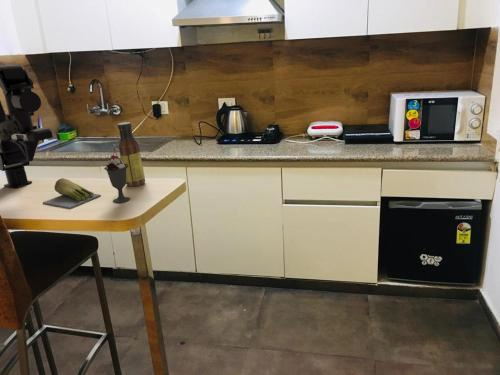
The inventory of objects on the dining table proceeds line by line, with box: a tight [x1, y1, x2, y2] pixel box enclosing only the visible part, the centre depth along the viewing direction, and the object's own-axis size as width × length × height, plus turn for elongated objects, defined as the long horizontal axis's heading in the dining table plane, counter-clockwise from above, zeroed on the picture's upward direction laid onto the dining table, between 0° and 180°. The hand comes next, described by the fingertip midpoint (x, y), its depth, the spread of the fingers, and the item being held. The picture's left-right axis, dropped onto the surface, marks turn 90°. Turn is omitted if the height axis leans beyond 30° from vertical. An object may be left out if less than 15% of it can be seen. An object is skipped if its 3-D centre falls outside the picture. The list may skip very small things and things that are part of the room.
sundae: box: [103, 147, 131, 204], centre depth 121 cm, size 7×7×15 cm
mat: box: [42, 193, 102, 210], centre depth 126 cm, size 12×11×1 cm
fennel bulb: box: [54, 178, 95, 201], centre depth 127 cm, size 6×5×12 cm
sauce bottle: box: [117, 121, 146, 187], centre depth 134 cm, size 6×6×20 cm
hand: (30, 160), depth 131 cm, fingers closed
